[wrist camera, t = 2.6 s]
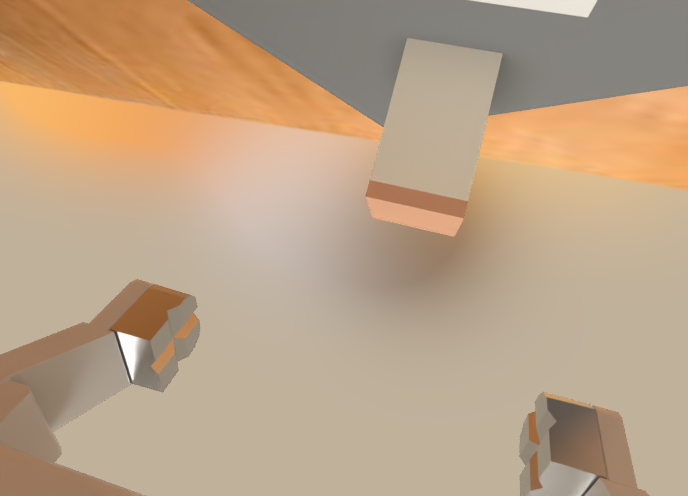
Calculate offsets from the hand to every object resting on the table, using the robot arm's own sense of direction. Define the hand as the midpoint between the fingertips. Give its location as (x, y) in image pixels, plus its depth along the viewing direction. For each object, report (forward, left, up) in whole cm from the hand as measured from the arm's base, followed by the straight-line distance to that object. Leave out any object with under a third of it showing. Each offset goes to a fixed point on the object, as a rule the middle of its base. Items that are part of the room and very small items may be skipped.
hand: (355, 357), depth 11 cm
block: (-8, -9, -14) cm, 19 cm away
